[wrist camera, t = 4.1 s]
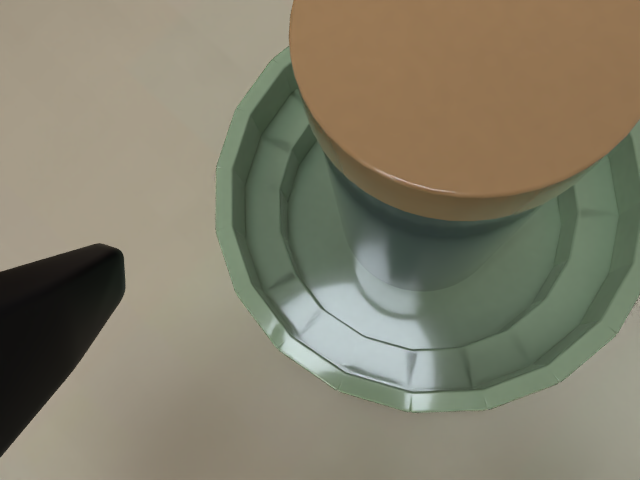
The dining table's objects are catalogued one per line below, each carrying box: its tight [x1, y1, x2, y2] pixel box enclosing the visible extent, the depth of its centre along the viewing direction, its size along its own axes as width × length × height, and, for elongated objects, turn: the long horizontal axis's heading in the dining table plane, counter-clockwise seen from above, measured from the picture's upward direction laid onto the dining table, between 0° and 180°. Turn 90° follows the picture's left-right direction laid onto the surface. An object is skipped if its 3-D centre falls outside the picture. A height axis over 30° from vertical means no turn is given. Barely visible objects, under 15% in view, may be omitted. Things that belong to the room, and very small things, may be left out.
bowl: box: [215, 46, 640, 413], centre depth 19 cm, size 14×14×4 cm
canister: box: [289, 0, 640, 292], centre depth 15 cm, size 6×6×12 cm
